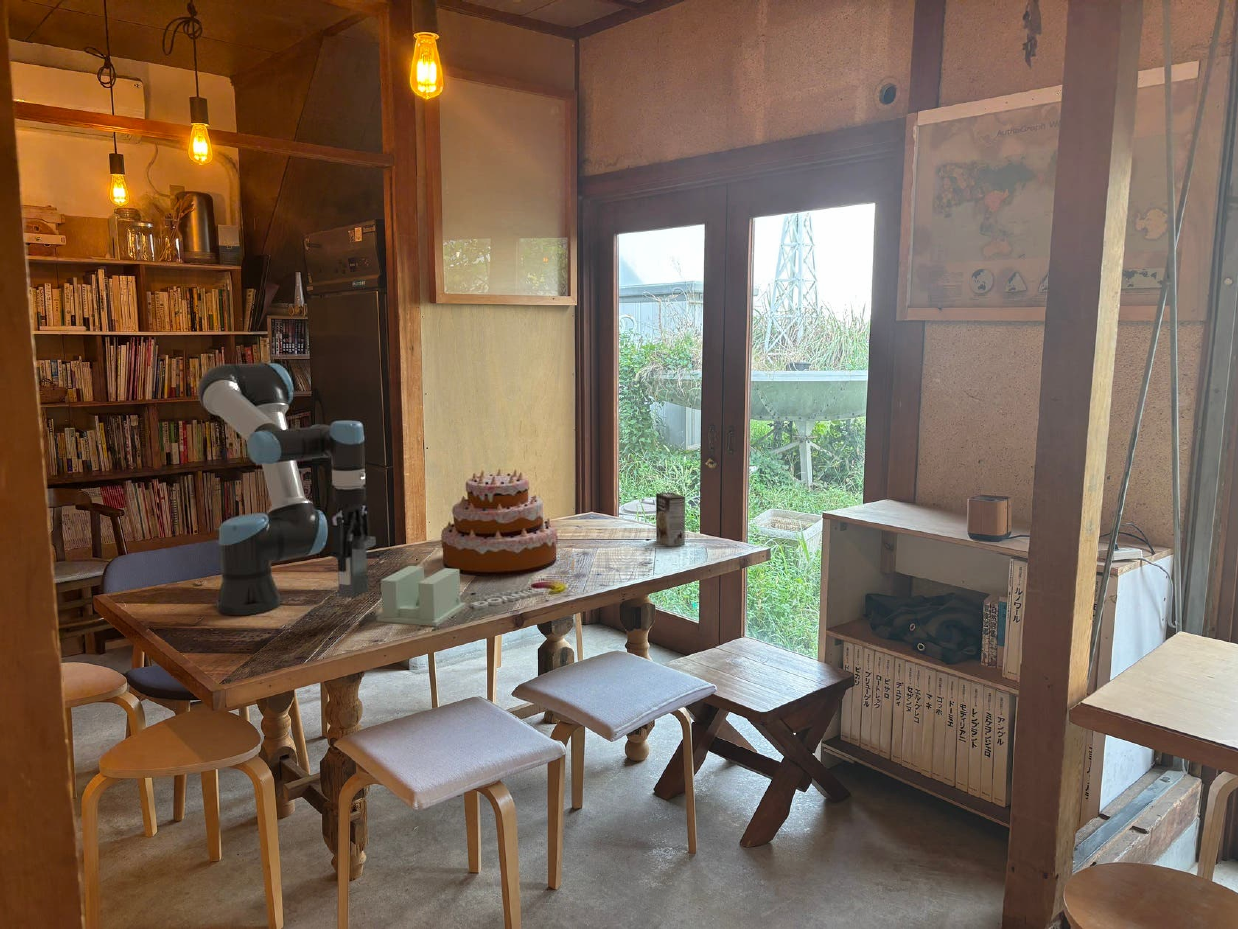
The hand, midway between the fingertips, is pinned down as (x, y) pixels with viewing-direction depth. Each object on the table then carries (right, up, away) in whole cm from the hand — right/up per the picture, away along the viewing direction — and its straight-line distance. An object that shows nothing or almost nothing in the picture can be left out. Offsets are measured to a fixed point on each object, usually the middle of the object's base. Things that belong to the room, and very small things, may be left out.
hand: (352, 579), depth 218 cm
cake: (+28, -2, +57) cm, 63 cm away
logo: (+37, -7, +20) cm, 43 cm away
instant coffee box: (+81, +2, +79) cm, 113 cm away
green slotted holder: (+16, -9, +6) cm, 19 cm away
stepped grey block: (+1, -4, 0) cm, 4 cm away
